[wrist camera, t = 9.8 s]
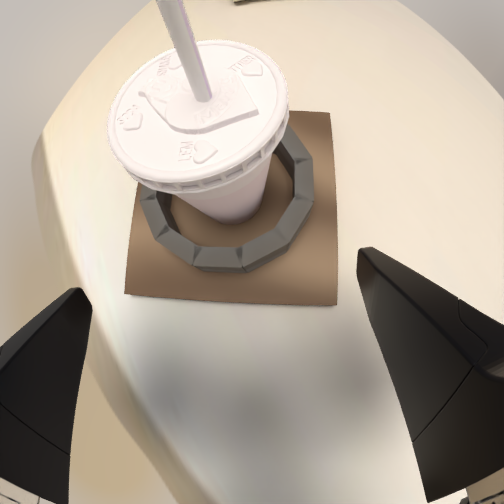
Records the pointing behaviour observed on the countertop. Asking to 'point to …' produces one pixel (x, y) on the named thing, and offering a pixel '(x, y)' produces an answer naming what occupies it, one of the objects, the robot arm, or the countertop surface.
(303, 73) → the countertop surface
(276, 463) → the countertop surface
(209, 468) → the countertop surface
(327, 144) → the collar stand
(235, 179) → the smoothie
